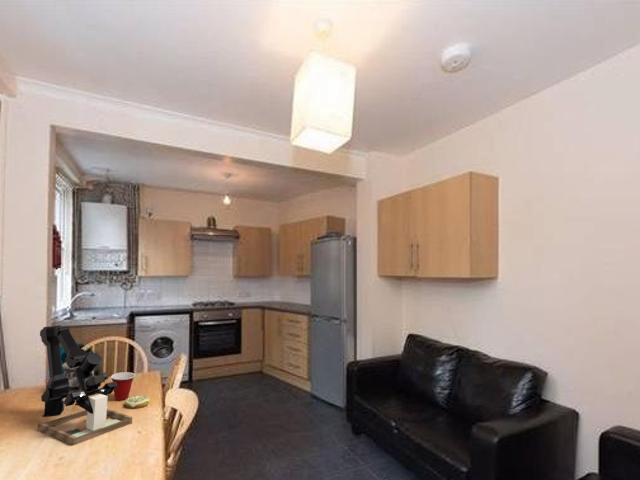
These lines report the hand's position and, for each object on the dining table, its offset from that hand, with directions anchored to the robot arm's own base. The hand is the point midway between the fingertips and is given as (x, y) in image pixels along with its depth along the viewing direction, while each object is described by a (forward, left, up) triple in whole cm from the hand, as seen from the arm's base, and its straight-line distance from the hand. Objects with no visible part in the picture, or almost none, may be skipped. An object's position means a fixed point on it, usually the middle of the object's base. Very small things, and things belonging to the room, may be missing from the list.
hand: (99, 411), depth 149 cm
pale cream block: (-1, +1, -7) cm, 7 cm away
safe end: (-1, +1, -8) cm, 8 cm away
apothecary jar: (-21, +56, -8) cm, 61 cm away
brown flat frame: (-5, +6, -8) cm, 11 cm away
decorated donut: (+12, +26, -8) cm, 30 cm away
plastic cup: (+4, +37, -8) cm, 38 cm away
